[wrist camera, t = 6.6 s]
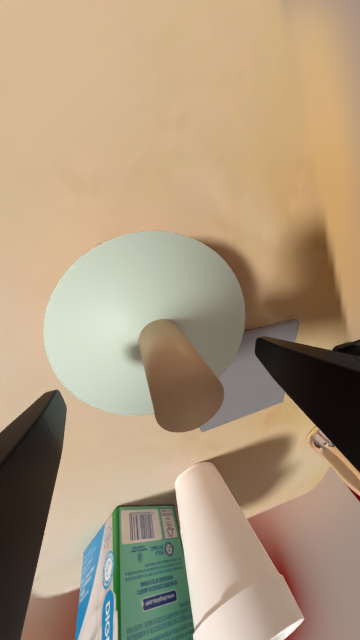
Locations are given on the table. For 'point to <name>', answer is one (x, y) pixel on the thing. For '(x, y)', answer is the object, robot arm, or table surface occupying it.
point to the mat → (250, 377)
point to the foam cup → (228, 565)
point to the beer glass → (335, 460)
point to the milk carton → (135, 579)
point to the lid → (147, 328)
